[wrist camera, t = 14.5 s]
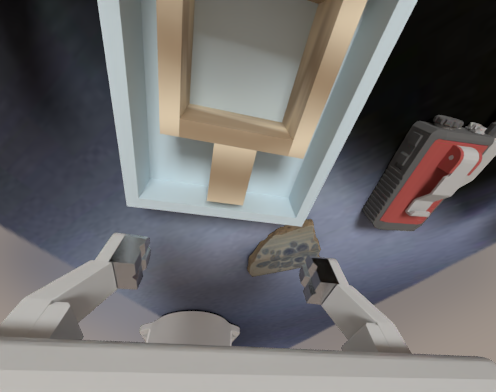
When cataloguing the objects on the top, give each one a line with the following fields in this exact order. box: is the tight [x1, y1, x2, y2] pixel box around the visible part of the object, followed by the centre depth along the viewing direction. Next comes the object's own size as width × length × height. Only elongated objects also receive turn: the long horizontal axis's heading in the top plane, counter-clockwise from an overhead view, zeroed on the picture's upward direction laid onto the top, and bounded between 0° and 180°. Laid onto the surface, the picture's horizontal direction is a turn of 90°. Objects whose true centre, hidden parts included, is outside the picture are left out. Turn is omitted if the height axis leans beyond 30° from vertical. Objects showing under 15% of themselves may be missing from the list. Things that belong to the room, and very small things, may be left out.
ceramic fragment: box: [247, 219, 321, 277], centre depth 28 cm, size 11×3×10 cm
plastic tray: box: [97, 0, 417, 227], centre depth 15 cm, size 20×16×4 cm
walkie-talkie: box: [362, 115, 496, 231], centre depth 20 cm, size 9×4×20 cm
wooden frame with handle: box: [156, 0, 368, 205], centre depth 15 cm, size 15×10×4 cm, turn 168°
